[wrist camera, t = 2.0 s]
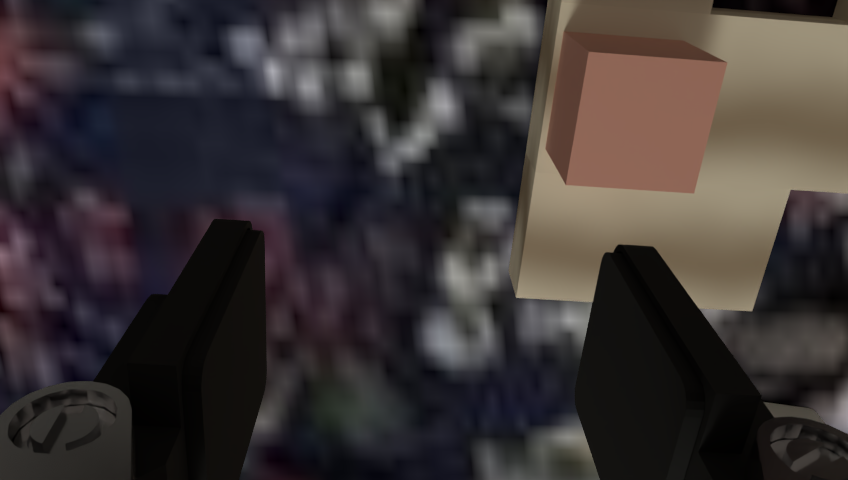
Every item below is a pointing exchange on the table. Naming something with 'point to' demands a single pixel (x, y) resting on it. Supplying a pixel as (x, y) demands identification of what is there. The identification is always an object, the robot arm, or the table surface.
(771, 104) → the trap deck
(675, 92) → the block
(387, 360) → the table surface
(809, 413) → the medicine bottle
